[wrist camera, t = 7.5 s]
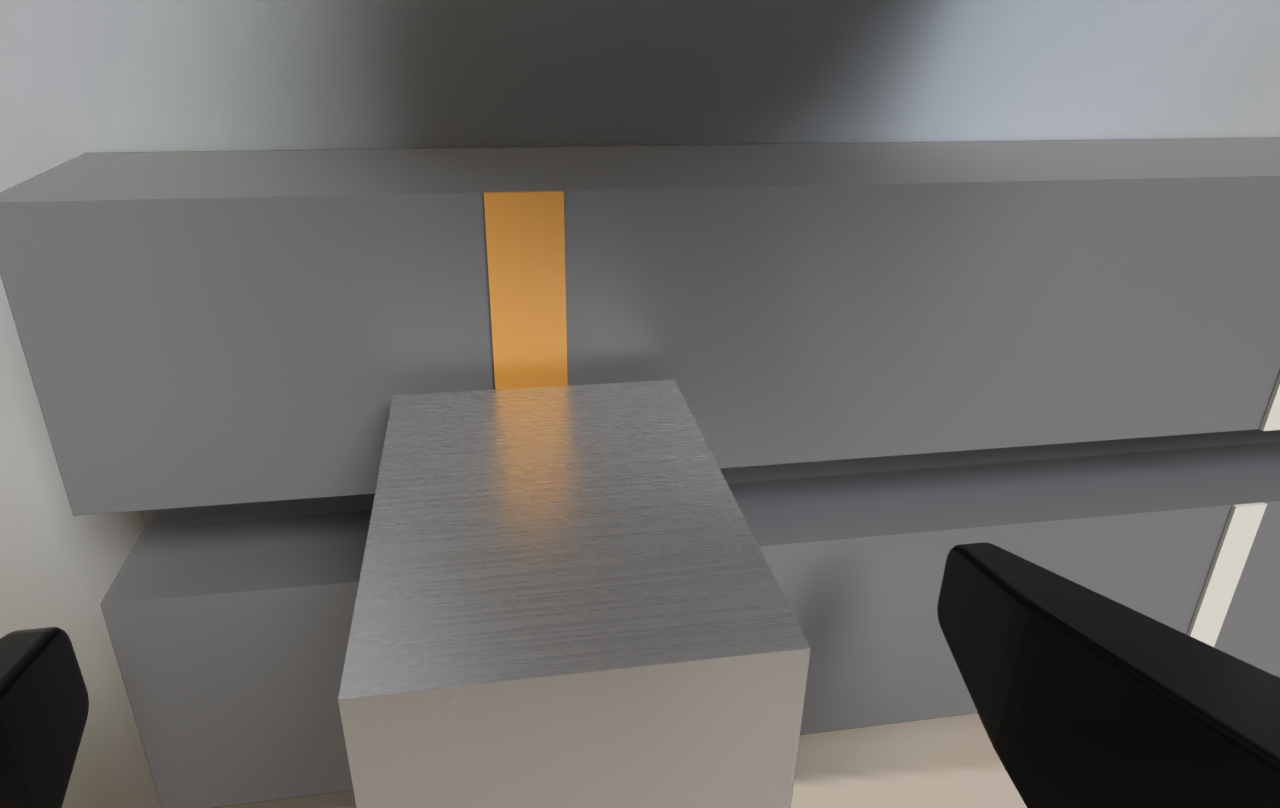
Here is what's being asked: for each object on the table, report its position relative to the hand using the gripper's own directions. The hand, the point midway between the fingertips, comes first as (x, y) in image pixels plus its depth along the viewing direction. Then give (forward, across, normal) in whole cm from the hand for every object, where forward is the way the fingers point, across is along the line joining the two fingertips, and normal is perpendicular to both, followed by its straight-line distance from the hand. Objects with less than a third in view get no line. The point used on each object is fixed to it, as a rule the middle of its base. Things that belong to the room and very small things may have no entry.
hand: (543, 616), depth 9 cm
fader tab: (+3, 0, 0) cm, 3 cm away
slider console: (+4, -5, 0) cm, 7 cm away
